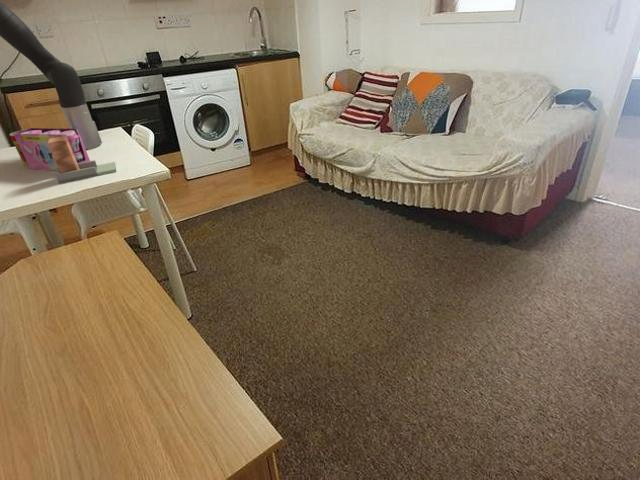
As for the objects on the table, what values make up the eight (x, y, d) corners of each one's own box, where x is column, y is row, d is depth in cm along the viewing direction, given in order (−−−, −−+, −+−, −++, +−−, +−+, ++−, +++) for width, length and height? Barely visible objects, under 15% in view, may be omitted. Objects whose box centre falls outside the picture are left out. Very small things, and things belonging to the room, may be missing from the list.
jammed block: (62, 177, 132) (47, 143, 126) (64, 172, 137) (49, 138, 130) (79, 174, 134) (65, 140, 127) (79, 169, 138) (66, 136, 132)
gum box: (95, 164, 146) (81, 128, 139) (78, 172, 140) (63, 135, 133) (47, 162, 153) (31, 127, 146) (29, 169, 146) (12, 133, 139)
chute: (59, 183, 131) (55, 175, 129) (60, 175, 138) (57, 167, 136) (116, 171, 137) (113, 163, 136) (115, 164, 144) (112, 156, 143)
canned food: (36, 166, 149) (21, 135, 142) (19, 166, 150) (4, 135, 144) (51, 159, 155) (38, 129, 149) (35, 159, 157) (21, 129, 151)
